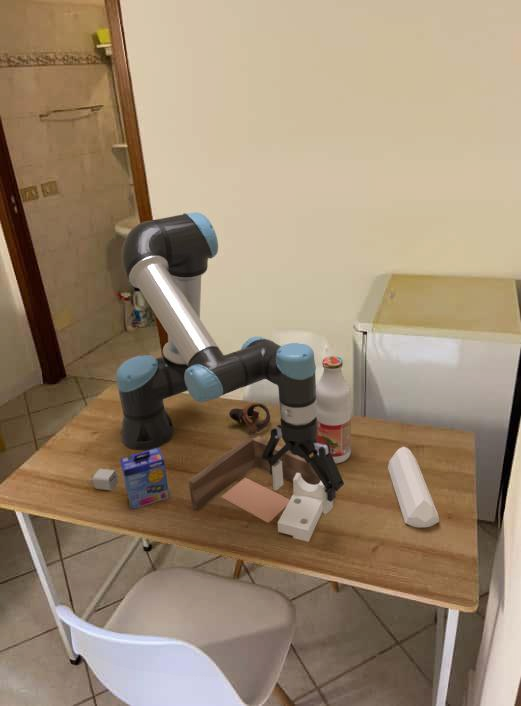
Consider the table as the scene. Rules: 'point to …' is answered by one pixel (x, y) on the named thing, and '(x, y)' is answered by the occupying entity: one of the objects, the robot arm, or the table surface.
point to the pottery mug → (246, 413)
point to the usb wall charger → (104, 479)
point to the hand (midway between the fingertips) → (302, 498)
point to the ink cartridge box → (145, 478)
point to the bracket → (302, 509)
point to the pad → (256, 500)
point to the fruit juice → (334, 410)
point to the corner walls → (244, 469)
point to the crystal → (412, 490)
